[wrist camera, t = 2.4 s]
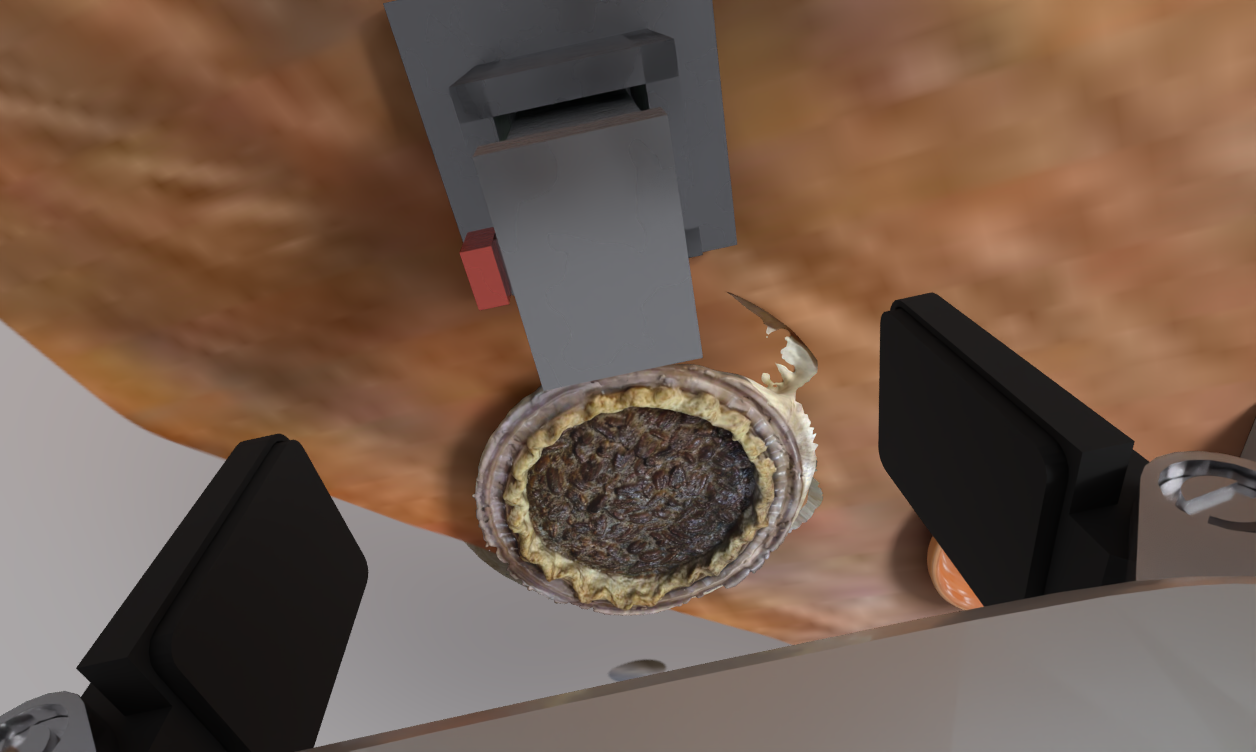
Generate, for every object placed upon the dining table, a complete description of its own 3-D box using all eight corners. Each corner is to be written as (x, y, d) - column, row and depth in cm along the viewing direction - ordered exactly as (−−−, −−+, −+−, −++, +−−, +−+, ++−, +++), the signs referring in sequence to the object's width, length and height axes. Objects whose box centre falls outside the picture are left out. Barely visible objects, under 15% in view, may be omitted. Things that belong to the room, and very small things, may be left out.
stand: (393, 2, 29) (311, 6, 19) (696, -64, 29) (765, -94, 19) (485, 284, 36) (458, 388, 27) (728, 232, 36) (790, 318, 26)
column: (505, 78, 29) (450, 161, 14) (615, 54, 29) (672, 114, 14) (541, 213, 32) (525, 394, 18) (639, 192, 32) (706, 356, 18)
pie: (621, 646, 54) (625, 701, 50) (342, 470, 43) (317, 522, 39) (904, 453, 46) (938, 499, 42) (653, 173, 35) (665, 197, 30)
